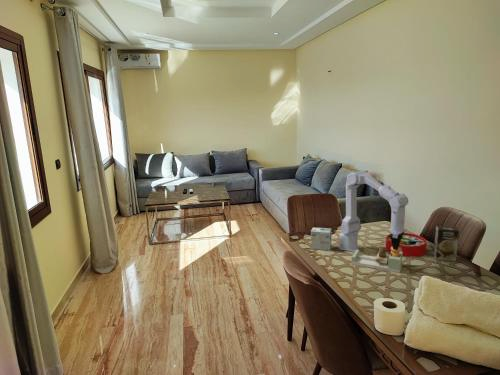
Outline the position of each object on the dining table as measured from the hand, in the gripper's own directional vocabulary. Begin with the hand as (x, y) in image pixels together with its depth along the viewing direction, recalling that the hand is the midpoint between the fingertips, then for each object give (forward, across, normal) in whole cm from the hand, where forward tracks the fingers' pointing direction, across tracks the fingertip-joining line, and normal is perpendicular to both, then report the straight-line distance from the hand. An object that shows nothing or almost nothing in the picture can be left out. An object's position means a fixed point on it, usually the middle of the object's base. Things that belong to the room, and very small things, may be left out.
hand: (396, 247), depth 162 cm
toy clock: (+11, +25, -2) cm, 27 cm away
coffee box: (+11, +21, -21) cm, 31 cm away
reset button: (+6, 0, 0) cm, 6 cm away
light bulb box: (+11, +9, +40) cm, 42 cm away
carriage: (+8, 0, +6) cm, 10 cm away
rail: (+10, 0, +9) cm, 13 cm away
